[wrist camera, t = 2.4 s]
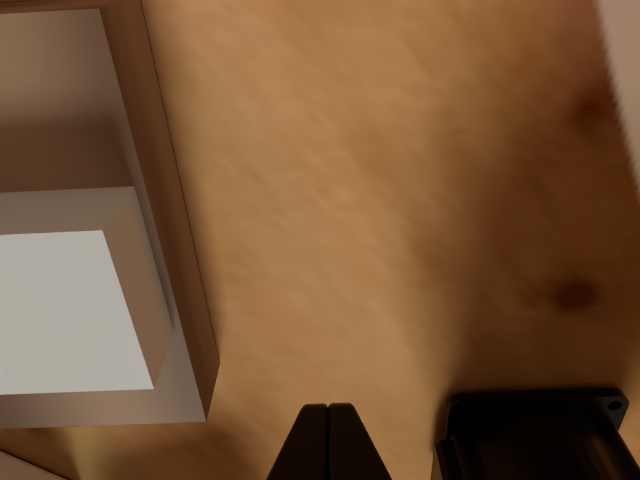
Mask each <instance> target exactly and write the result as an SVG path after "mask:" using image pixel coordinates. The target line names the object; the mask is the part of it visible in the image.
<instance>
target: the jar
mask: <svg viewBox="0 0 640 480" xmlns="http://www.w3.org/2000/svg"><path fill="white" fill-rule="evenodd" d="M0 480H66V479H64V478H62V477H59V476H57V475H55V474H53V473H50V472H48V471H46V470H43V469H41V468H39V467H36V466H34V465H32V464H30V463H27V462H25V461H23V460H20V459H18V458H16V457H14V456H11V455H9V454H7V453H4V452H2V451H0Z"/></svg>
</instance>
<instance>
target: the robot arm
mask: <svg viewBox="0 0 640 480" xmlns="http://www.w3.org/2000/svg"><path fill="white" fill-rule="evenodd" d="M628 405H629V401H628V399H627V398H626V396H625V395H624V393H623V392H622V390H620V389H618V388H589V389H562V390H534V391H506V392H478V393H459V394H455V395H453V396H451V397H450V398H449V399H448V401H447V405H446V414H445V423H444V431H443V439H439V440H438V441H437V442H436V443H435V445H434V453H433V463H432V472H431V480H640V467H639V466H638V464H637V462H636V461H635V459H634V457H633V456H632V454H631V452H630V451H629V449H628V447H627V446H626V444H625V442H624V441H623V439H622V437H621V435H620V434H619V432H618V430H619V428H620V425H621V423H622V420H623V418H624V415H625V413H626V410H627V408H628ZM266 480H392V479H391V477H390V475H389V473H388V471H387V469H386V467H385V465H384V463H383V461H382V459H381V457H380V456H379V454H378V452H377V450H376V448H375V446H374V444H373V442H372V440H371V438H370V436H369V434H368V432H367V431H366V429H365V427H364V425H363V423H362V421H361V419H360V417H359V415H358V413H357V411H356V409H355V408H354V406H353V405H352V404H351V403H332V404H330V405H329V406H328V407H327V405H326V404H306V405H304V406H303V407H302V408H301V410H300V412H299V414H298V416H297V418H296V420H295V422H294V424H293V426H292V428H291V430H290V432H289V434H288V436H287V438H286V440H285V442H284V444H283V446H282V448H281V450H280V452H279V454H278V456H277V458H276V460H275V462H274V464H273V466H272V468H271V470H270V472H269V474H268V476H267V478H266Z"/></svg>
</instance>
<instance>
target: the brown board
mask: <svg viewBox="0 0 640 480" xmlns="http://www.w3.org/2000/svg"><path fill="white" fill-rule="evenodd" d="M131 186H134V187H135V191H136V194H137V198H138V202H139V205H140V209H141V213H142V216H143V220H144V224H145V227H146V231H147V235H148V238H149V242H150V246H151V249H152V253H153V257H154V260H155V264H156V268H157V272H158V275H159V279H160V283H161V286H162V290H163V294H164V297H165V301H166V305H167V308H168V312H169V316H170V319H171V323H172V327H173V330H174V335H173V338H172V341H171V343H170V346H169V349H168V352H167V354H166V357H165V360H164V363H163V365H162V368H161V371H160V374H159V376H158V379H157V382H156V385H155V387H154V389H141V390H113V391H86V392H59V393H32V394H5V395H0V429H16V428H45V427H74V426H102V425H131V424H160V423H188V422H206V421H207V417H208V412H209V408H210V404H211V399H212V395H213V391H214V386H215V382H216V378H217V374H218V369H219V365H220V363H219V358H218V354H217V349H216V345H215V340H214V335H213V331H212V326H211V322H210V317H209V312H208V308H207V303H206V299H205V294H204V290H203V285H202V280H201V276H200V271H199V267H198V262H197V257H196V253H195V248H194V244H193V239H192V235H191V230H190V225H189V221H188V216H187V212H186V207H185V202H184V198H183V193H182V189H181V184H180V180H179V175H178V170H177V166H176V161H175V157H174V152H173V147H172V143H171V138H170V134H169V129H168V125H167V120H166V115H165V111H164V106H163V102H162V97H161V92H160V88H159V83H158V79H157V74H156V70H155V65H154V60H153V56H152V51H151V47H150V42H149V37H148V33H147V28H146V24H145V19H144V15H143V10H142V5H141V1H140V0H35V1H18V2H1V3H0V193H6V192H27V191H48V190H68V189H89V188H110V187H131Z"/></svg>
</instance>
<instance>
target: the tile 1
mask: <svg viewBox="0 0 640 480" xmlns="http://www.w3.org/2000/svg"><path fill="white" fill-rule="evenodd" d="M173 335H174V330H173V327H172V323H171V319H170V316H169V312H168V308H167V305H166V301H165V297H164V294H163V290H162V286H161V283H160V279H159V275H158V272H157V268H156V264H155V260H154V257H153V253H152V249H151V246H150V242H149V238H148V235H147V231H146V227H145V224H144V220H143V216H142V213H141V209H140V205H139V202H138V198H137V194H136V191H135V187H134V186H131V187H110V188H89V189H68V190H48V191H27V192H6V193H0V395H5V394H32V393H59V392H86V391H113V390H141V389H154V387H155V385H156V382H157V379H158V376H159V374H160V371H161V368H162V365H163V363H164V360H165V357H166V354H167V352H168V349H169V346H170V343H171V341H172V338H173Z"/></svg>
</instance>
